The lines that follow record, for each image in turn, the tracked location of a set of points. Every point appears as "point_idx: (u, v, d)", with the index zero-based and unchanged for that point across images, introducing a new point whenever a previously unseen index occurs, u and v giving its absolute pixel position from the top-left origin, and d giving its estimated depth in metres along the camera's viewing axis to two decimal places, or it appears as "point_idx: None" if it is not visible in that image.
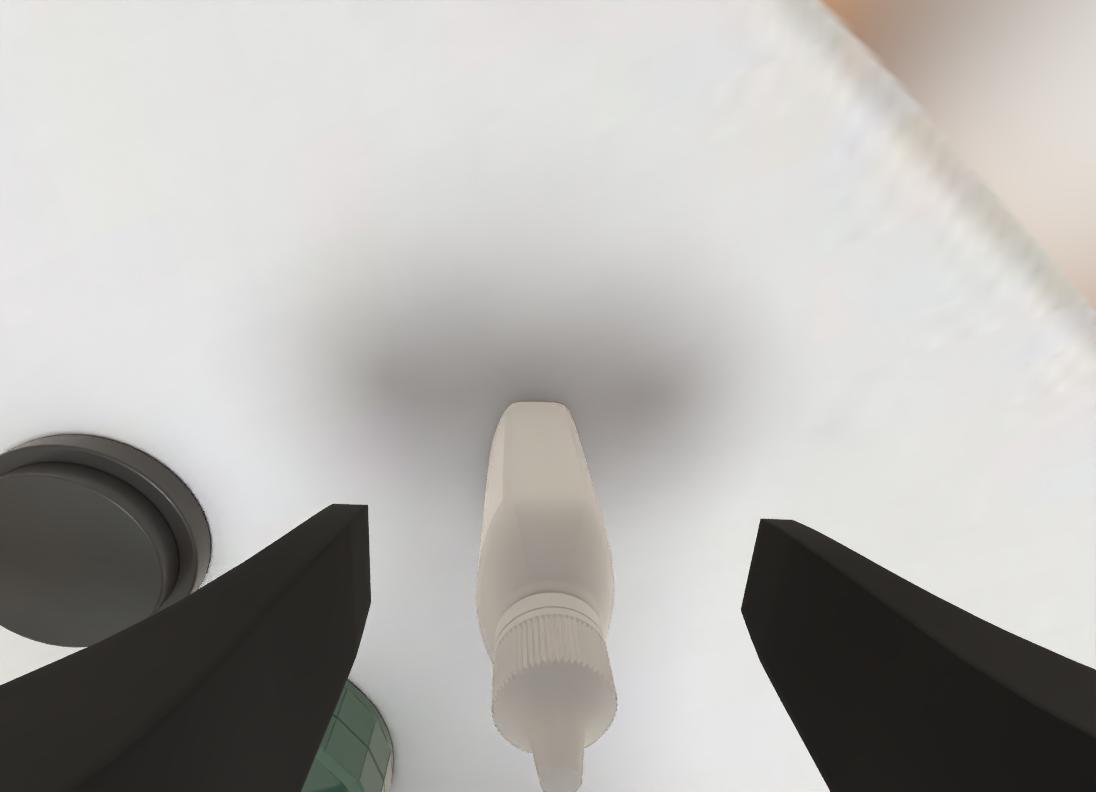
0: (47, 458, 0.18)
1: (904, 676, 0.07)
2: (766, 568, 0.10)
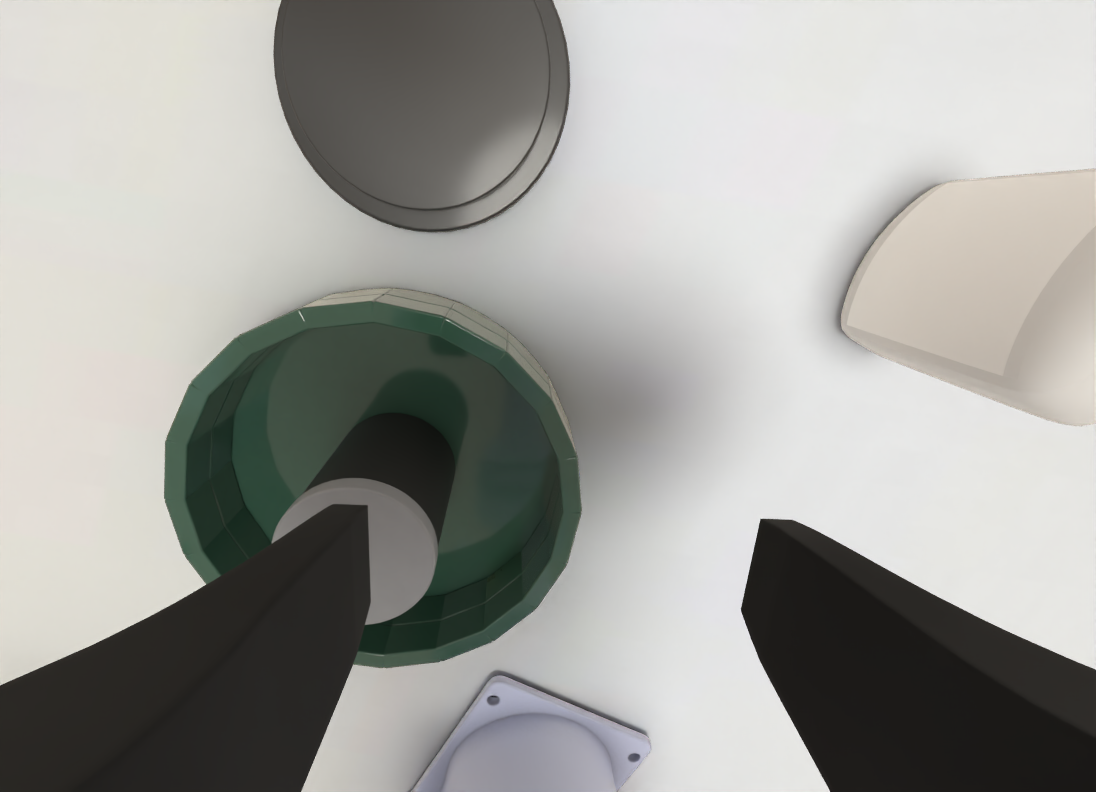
0: None
1: (904, 676, 0.07)
2: (766, 568, 0.10)
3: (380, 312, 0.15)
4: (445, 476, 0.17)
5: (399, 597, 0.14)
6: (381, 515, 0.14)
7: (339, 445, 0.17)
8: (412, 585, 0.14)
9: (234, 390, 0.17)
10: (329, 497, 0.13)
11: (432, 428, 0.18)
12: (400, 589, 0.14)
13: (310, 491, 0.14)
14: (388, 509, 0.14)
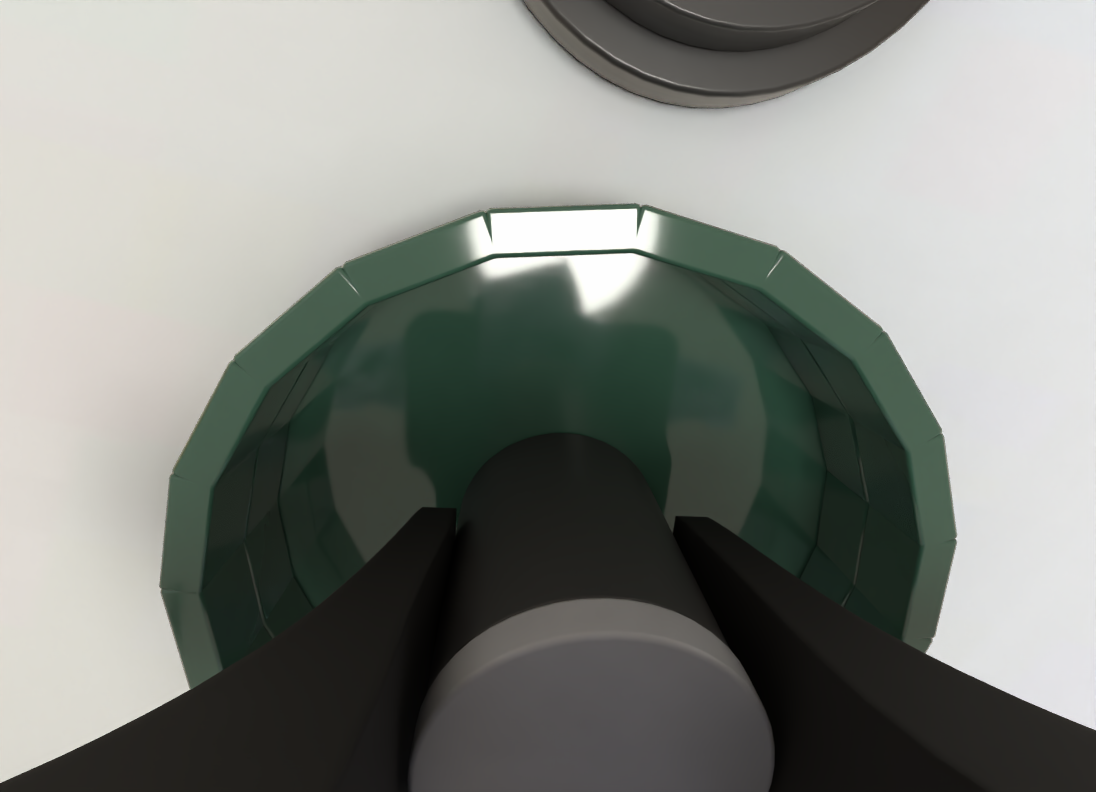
0: None
1: (777, 675, 0.06)
2: None
3: (654, 230, 0.07)
4: None
5: None
6: (681, 696, 0.06)
7: (486, 490, 0.09)
8: None
9: (302, 379, 0.09)
10: (573, 655, 0.05)
11: (631, 463, 0.11)
12: None
13: (515, 630, 0.06)
14: (701, 683, 0.06)
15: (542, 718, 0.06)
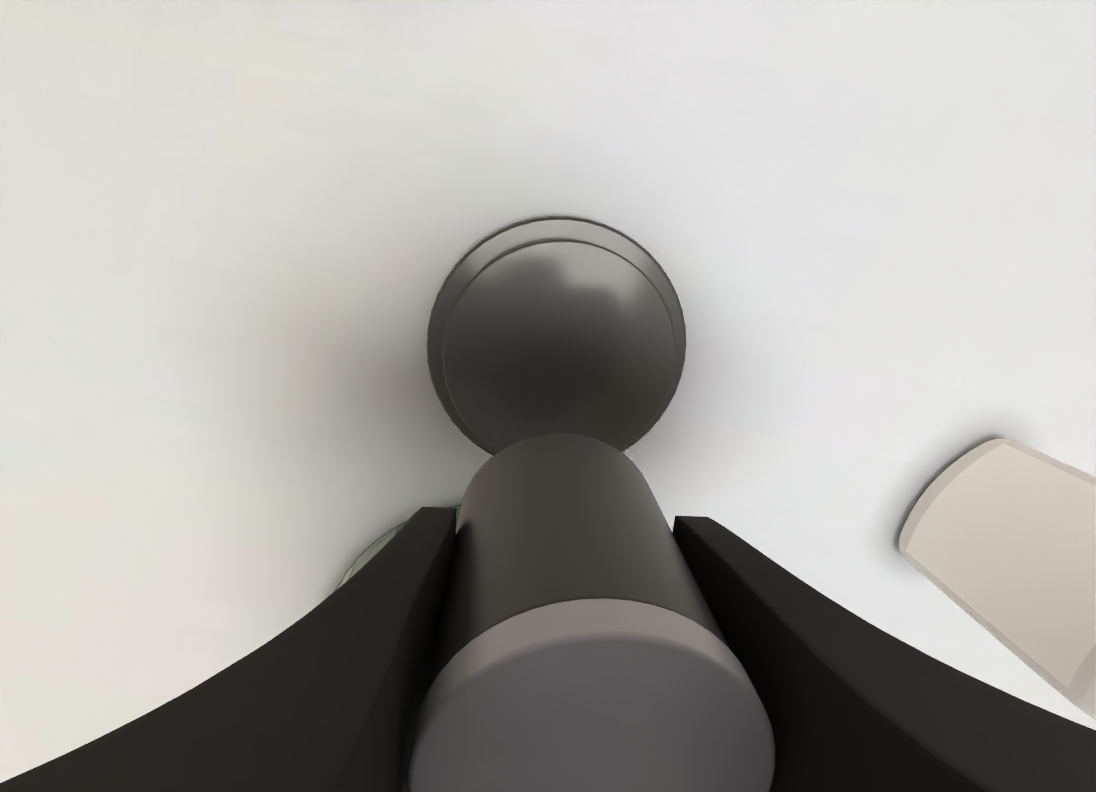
0: (617, 248, 0.16)
1: (776, 674, 0.06)
2: None
3: None
4: None
5: None
6: (681, 697, 0.06)
7: (486, 491, 0.09)
8: None
9: None
10: (573, 656, 0.05)
11: (631, 463, 0.11)
12: None
13: (515, 631, 0.06)
14: (701, 684, 0.06)
15: (542, 718, 0.06)
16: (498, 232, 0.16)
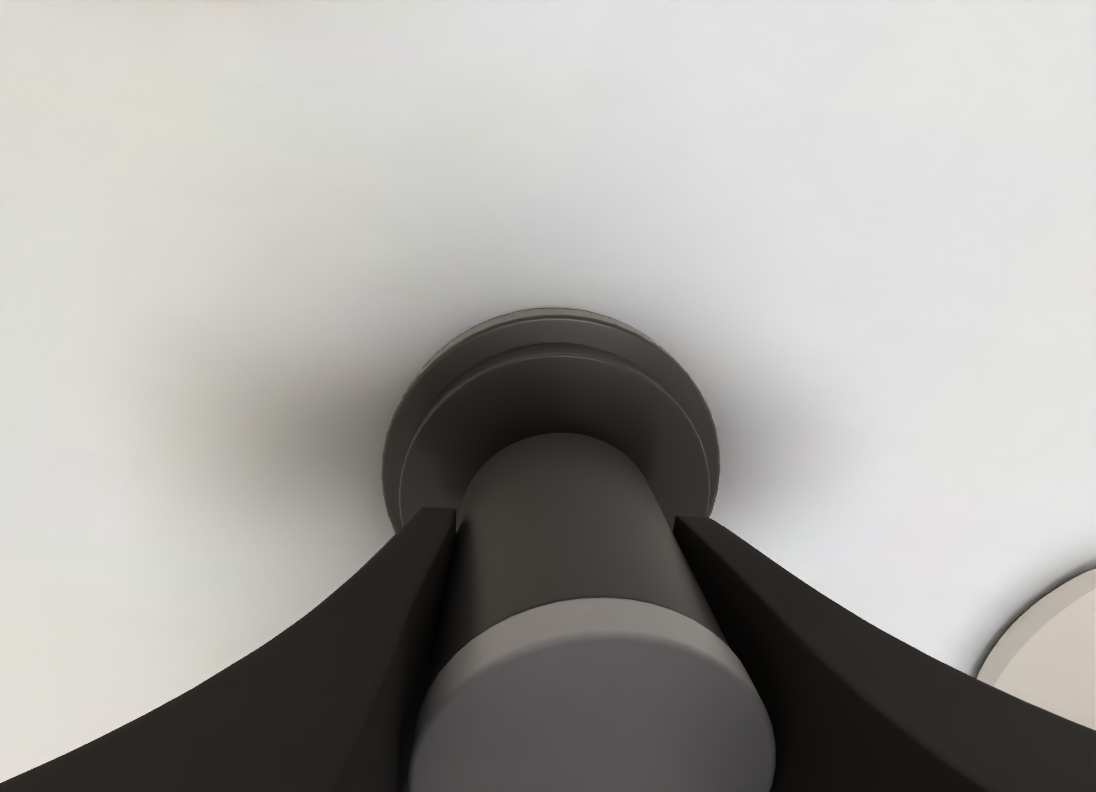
0: (630, 354, 0.12)
1: (776, 675, 0.06)
2: None
3: None
4: None
5: None
6: (681, 696, 0.06)
7: (486, 490, 0.09)
8: None
9: None
10: (573, 655, 0.05)
11: (632, 463, 0.11)
12: None
13: (515, 630, 0.06)
14: (702, 683, 0.06)
15: (542, 717, 0.06)
16: (473, 336, 0.12)
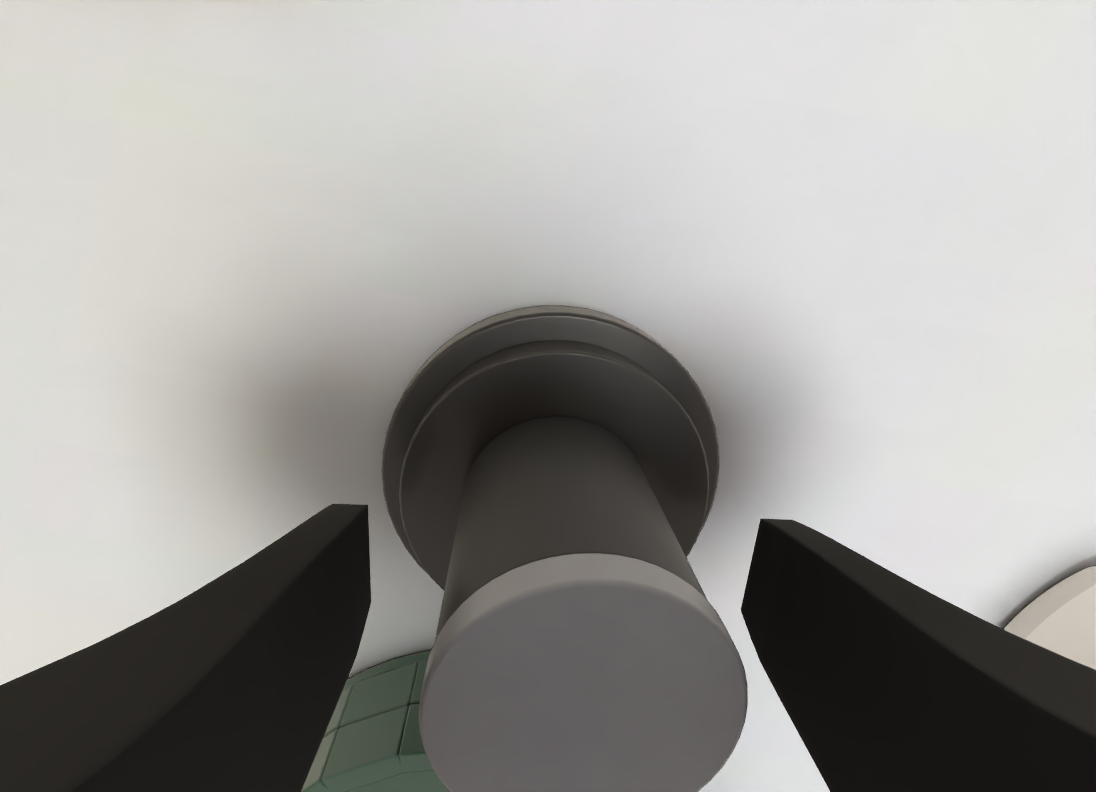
0: (630, 351, 0.12)
1: (904, 676, 0.07)
2: (766, 568, 0.10)
3: None
4: None
5: (658, 790, 0.07)
6: (663, 639, 0.06)
7: (488, 468, 0.10)
8: (689, 769, 0.07)
9: None
10: (566, 600, 0.06)
11: (624, 445, 0.11)
12: (664, 776, 0.07)
13: (515, 580, 0.06)
14: (680, 627, 0.06)
15: (539, 657, 0.06)
16: (473, 333, 0.12)
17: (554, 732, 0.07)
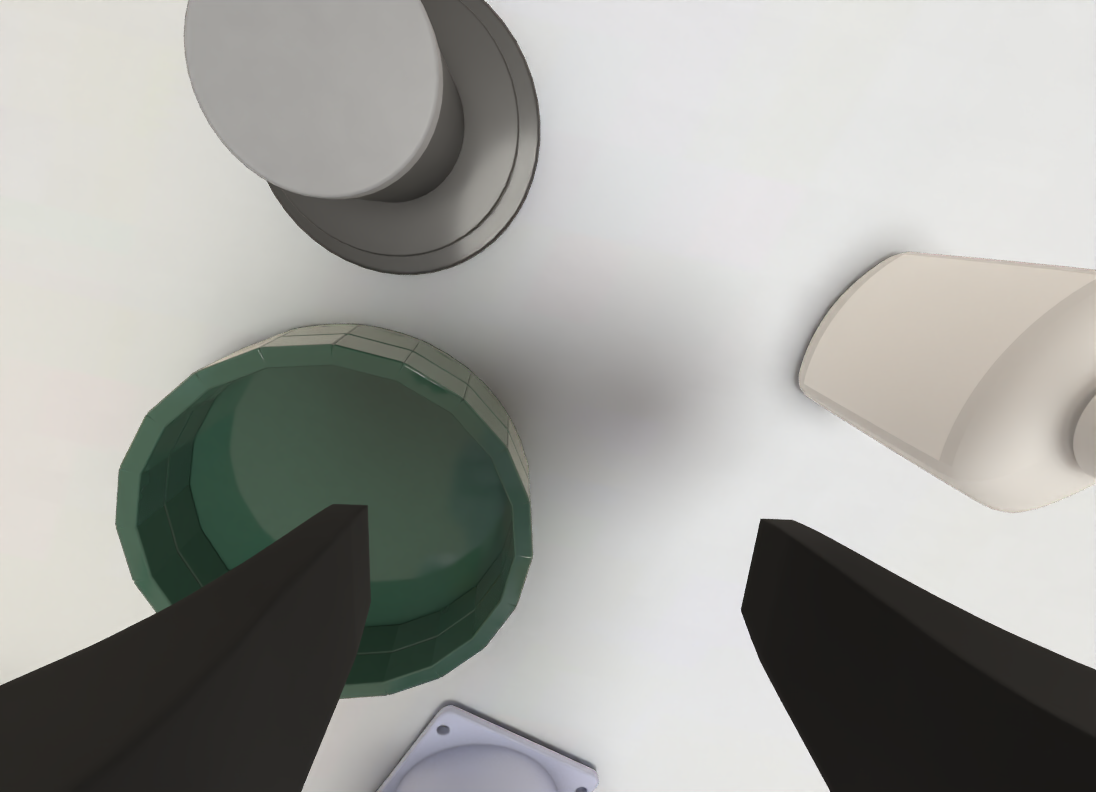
0: None
1: (904, 676, 0.07)
2: (766, 568, 0.10)
3: (339, 355, 0.15)
4: (453, 86, 0.12)
5: (381, 148, 0.09)
6: None
7: None
8: (401, 126, 0.09)
9: (194, 418, 0.17)
10: None
11: None
12: (383, 132, 0.09)
13: None
14: None
15: None
16: None
17: (289, 74, 0.09)
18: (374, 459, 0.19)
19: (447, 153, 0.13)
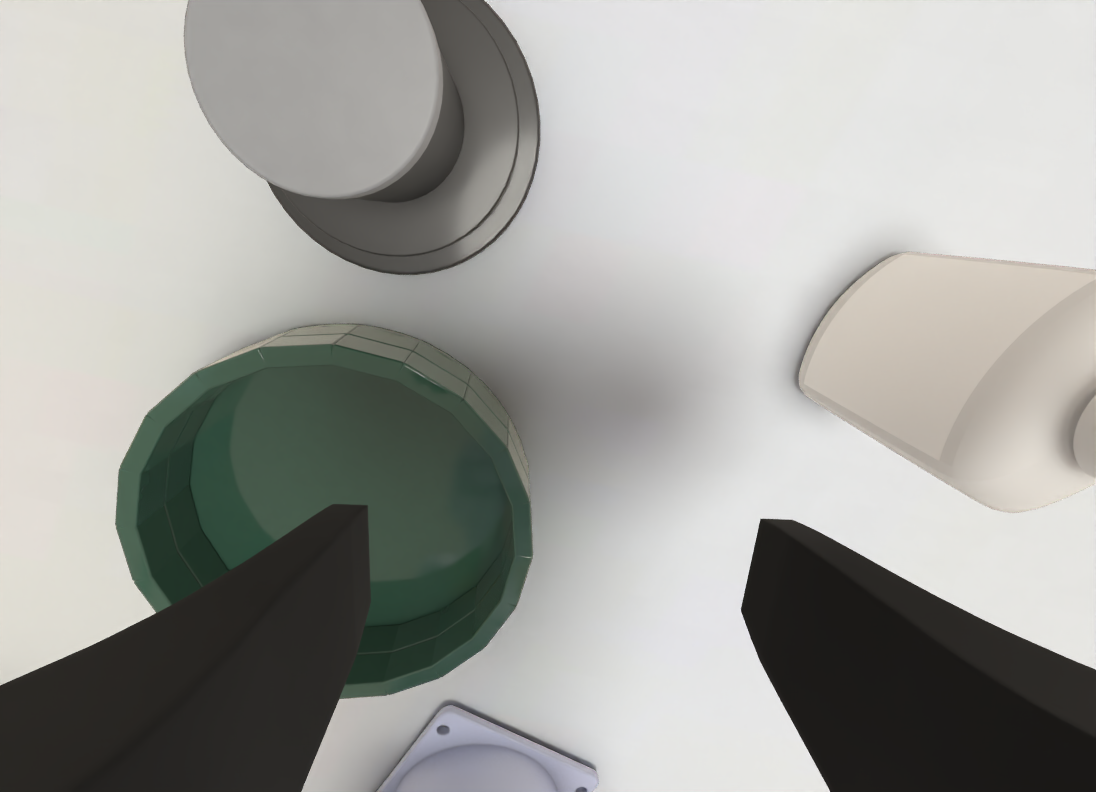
0: None
1: (904, 676, 0.07)
2: (766, 568, 0.10)
3: (339, 355, 0.15)
4: (453, 86, 0.12)
5: (381, 148, 0.09)
6: None
7: None
8: (401, 126, 0.09)
9: (194, 418, 0.17)
10: None
11: None
12: (383, 132, 0.09)
13: None
14: None
15: None
16: None
17: (289, 74, 0.09)
18: (374, 459, 0.19)
19: (447, 153, 0.13)
